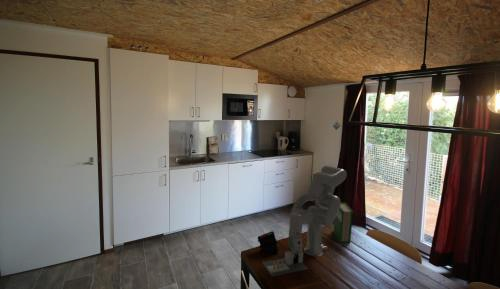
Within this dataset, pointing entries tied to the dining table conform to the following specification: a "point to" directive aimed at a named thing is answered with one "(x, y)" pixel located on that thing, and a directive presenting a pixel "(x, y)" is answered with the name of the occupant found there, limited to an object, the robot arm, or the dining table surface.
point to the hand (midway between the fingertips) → (293, 260)
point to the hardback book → (343, 223)
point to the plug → (290, 256)
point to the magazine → (268, 243)
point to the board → (282, 267)
